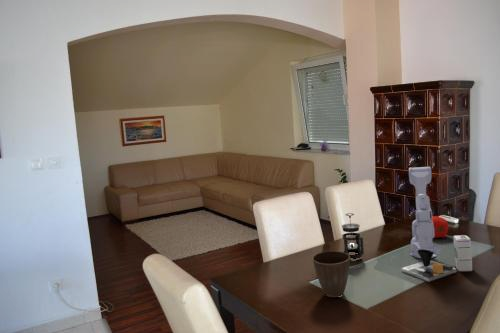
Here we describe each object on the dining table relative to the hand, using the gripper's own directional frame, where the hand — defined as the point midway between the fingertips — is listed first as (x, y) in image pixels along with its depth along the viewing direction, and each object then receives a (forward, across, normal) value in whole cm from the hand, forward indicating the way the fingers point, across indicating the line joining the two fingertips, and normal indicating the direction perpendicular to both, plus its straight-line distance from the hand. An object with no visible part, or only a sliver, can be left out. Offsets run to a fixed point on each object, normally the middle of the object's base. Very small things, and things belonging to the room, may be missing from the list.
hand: (426, 265), depth 182 cm
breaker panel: (+3, 0, 0) cm, 3 cm away
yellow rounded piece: (+1, +6, 0) cm, 6 cm away
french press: (+3, -34, -13) cm, 37 cm away
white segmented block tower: (+3, +7, +14) cm, 16 cm away
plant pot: (+3, -6, -46) cm, 46 cm away
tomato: (+3, -31, +42) cm, 52 cm away
